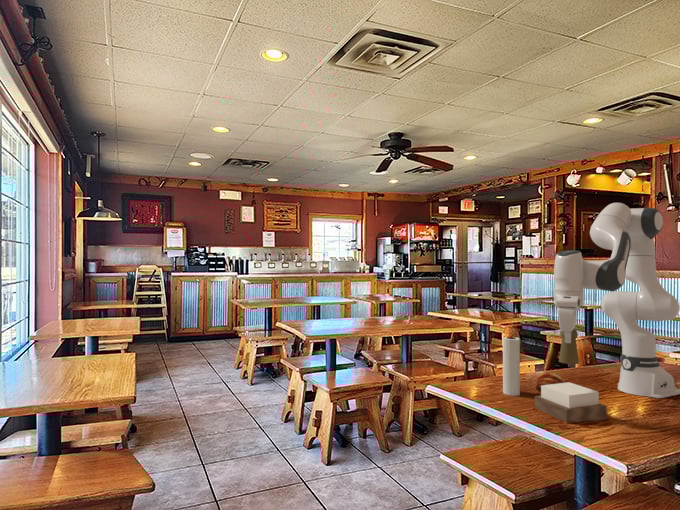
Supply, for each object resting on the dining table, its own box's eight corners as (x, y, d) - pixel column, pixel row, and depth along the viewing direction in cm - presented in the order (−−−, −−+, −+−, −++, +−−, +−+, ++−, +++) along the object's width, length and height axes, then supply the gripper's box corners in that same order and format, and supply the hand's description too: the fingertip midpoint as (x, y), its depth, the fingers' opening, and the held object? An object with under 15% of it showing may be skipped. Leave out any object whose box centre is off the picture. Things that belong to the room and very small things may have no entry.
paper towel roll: (508, 397, 170) (508, 339, 170) (499, 392, 176) (499, 336, 176) (526, 396, 172) (525, 338, 172) (516, 391, 178) (516, 336, 178)
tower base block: (571, 407, 161) (571, 392, 161) (606, 421, 146) (606, 405, 147) (534, 410, 157) (534, 395, 157) (566, 426, 143) (566, 409, 143)
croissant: (554, 391, 187) (543, 373, 190) (577, 382, 181) (565, 363, 184) (533, 402, 172) (522, 382, 175) (557, 392, 166) (545, 371, 169)
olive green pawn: (581, 364, 149) (581, 330, 149) (561, 363, 150) (561, 329, 150) (576, 360, 155) (575, 327, 155) (556, 359, 156) (556, 327, 156)
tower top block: (569, 393, 160) (569, 382, 160) (598, 404, 148) (598, 391, 148) (541, 397, 156) (541, 385, 156) (569, 408, 144) (569, 395, 144)
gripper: (561, 296, 163) (561, 336, 163) (554, 301, 145) (555, 345, 145) (581, 297, 160) (581, 337, 160) (577, 302, 142) (577, 347, 142)
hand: (568, 341), depth 152 cm, fingers closed on olive green pawn, 5 cm apart
